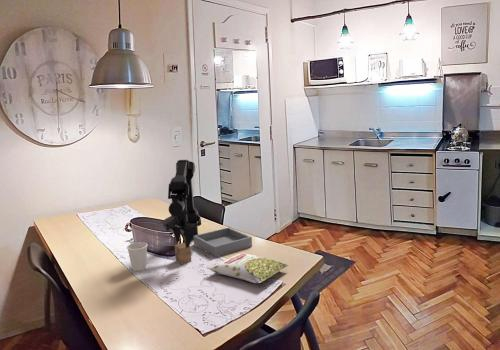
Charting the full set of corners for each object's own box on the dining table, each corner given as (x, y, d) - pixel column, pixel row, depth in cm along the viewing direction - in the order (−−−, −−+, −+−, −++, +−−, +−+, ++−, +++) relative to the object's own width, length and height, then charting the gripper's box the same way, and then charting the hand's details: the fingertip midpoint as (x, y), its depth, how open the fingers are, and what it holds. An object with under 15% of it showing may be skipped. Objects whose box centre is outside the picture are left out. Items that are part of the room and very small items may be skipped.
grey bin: (193, 244, 200) (193, 235, 199) (229, 235, 212) (228, 227, 211) (215, 256, 184) (214, 247, 183) (252, 246, 195) (251, 237, 195)
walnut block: (175, 260, 181) (174, 245, 180) (186, 257, 184) (185, 242, 183) (180, 264, 177) (179, 248, 176) (191, 261, 180) (190, 245, 179)
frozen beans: (259, 275, 149) (206, 261, 163) (260, 290, 150) (207, 275, 164) (288, 258, 166) (238, 247, 180) (288, 272, 167) (238, 260, 181)
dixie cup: (138, 273, 169) (136, 250, 167) (124, 269, 173) (122, 247, 172) (153, 266, 176) (151, 243, 174) (139, 262, 180) (137, 240, 179)
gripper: (153, 208, 180) (156, 243, 183) (171, 218, 165) (174, 255, 168) (176, 204, 186) (179, 237, 189) (196, 212, 171) (199, 248, 174)
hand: (182, 244), depth 180 cm, fingers open, 9 cm apart
